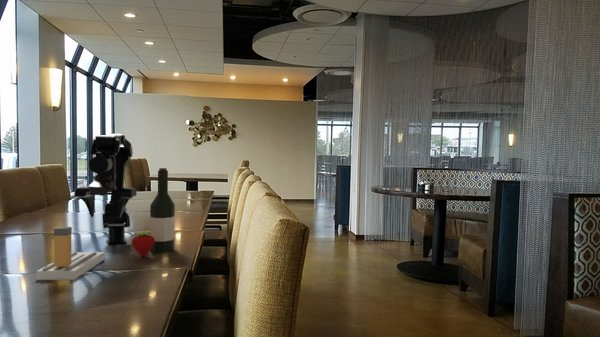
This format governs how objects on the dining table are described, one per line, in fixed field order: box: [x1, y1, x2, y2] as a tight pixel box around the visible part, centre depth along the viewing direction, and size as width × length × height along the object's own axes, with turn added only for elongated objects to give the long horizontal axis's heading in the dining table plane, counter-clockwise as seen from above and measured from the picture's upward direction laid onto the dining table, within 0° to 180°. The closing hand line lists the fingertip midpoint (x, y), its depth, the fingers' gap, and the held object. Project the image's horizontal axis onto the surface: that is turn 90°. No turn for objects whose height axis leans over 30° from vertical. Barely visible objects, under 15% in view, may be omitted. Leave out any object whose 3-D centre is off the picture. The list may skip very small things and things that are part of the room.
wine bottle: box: [149, 167, 176, 254], centre depth 143 cm, size 8×8×30 cm
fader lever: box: [53, 226, 73, 267], centre depth 113 cm, size 3×4×11 cm
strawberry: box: [131, 228, 155, 258], centre depth 134 cm, size 6×8×10 cm
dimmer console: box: [36, 251, 105, 281], centre depth 119 cm, size 20×10×3 cm, turn 5°
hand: (106, 216), depth 136 cm, fingers open, 9 cm apart
